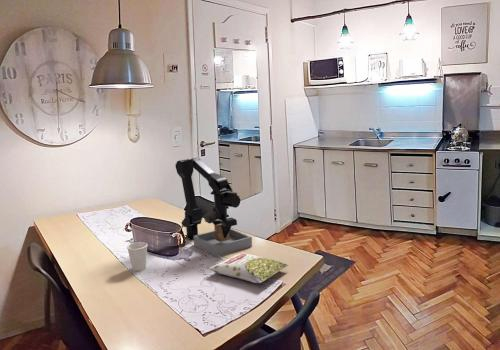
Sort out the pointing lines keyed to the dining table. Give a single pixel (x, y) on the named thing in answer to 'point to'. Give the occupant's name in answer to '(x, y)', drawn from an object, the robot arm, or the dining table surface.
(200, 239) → the grey bin
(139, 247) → the dixie cup
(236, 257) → the frozen beans
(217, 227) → the walnut block
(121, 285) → the dining table surface
